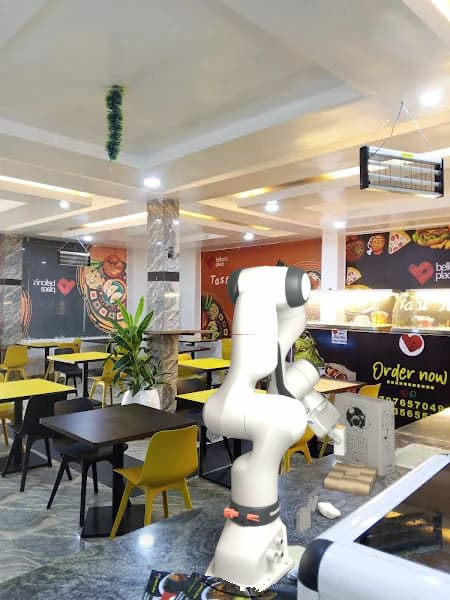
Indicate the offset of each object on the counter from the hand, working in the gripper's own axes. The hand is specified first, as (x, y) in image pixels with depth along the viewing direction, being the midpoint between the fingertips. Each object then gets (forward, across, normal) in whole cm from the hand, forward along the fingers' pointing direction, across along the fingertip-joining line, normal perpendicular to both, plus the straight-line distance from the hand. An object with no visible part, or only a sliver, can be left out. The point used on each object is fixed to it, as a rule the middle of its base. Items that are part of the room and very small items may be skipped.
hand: (342, 438), depth 148 cm
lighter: (+9, -26, +15) cm, 31 cm away
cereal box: (+14, +28, +11) cm, 33 cm away
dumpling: (+12, -18, +12) cm, 25 cm away
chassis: (+13, +10, +12) cm, 20 cm away
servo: (+3, 0, +4) cm, 5 cm away
